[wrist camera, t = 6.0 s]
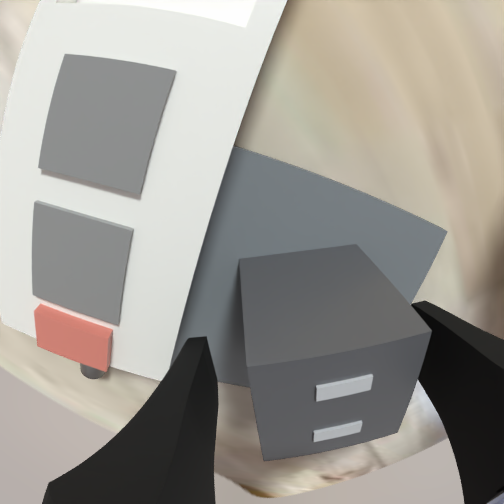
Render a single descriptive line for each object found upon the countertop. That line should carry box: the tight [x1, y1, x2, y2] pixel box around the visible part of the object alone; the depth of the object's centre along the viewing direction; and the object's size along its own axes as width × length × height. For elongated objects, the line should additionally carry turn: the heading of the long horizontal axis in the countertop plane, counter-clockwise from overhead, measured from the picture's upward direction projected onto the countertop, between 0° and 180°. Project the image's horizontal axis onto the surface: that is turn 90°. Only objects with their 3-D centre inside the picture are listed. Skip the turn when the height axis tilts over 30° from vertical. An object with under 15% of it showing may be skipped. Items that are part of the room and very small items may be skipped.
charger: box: [239, 244, 432, 461], centre depth 10 cm, size 4×4×6 cm
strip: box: [0, 0, 287, 381], centre depth 7 cm, size 25×7×4 cm, turn 161°
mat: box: [169, 146, 447, 387], centre depth 13 cm, size 10×10×1 cm
